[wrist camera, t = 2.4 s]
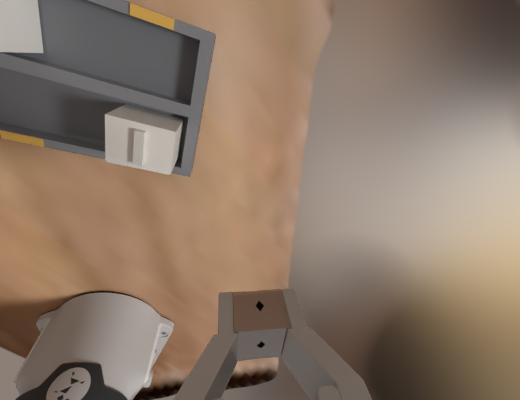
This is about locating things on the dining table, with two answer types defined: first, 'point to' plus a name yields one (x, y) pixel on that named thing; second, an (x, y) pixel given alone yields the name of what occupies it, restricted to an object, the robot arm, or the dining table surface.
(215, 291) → the dining table surface
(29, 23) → the white sliding block
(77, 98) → the switch board
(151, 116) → the white cube-shaped block
